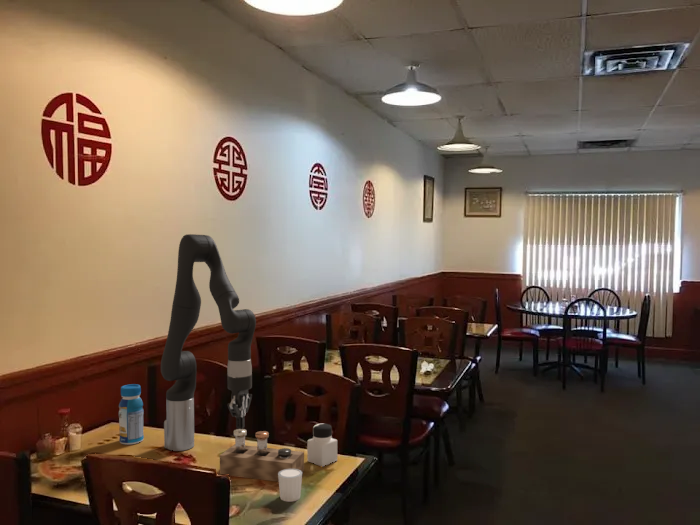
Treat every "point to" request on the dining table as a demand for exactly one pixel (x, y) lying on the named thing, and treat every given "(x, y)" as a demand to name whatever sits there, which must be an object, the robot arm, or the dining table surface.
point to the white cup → (290, 484)
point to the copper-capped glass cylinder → (262, 443)
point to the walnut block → (258, 463)
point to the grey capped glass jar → (284, 453)
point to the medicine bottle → (322, 446)
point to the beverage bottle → (131, 415)
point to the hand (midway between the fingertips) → (240, 428)
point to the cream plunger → (240, 440)
